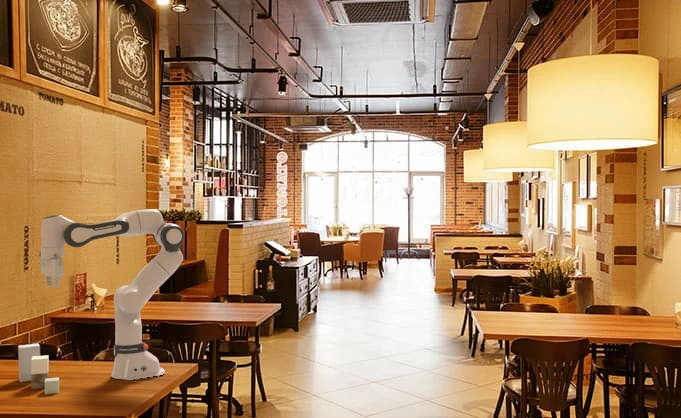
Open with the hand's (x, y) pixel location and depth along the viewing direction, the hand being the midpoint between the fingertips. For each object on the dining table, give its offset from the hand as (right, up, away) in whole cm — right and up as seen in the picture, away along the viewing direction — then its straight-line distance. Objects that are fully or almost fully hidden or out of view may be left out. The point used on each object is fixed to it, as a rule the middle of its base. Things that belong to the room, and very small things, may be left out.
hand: (52, 286), depth 269 cm
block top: (-3, -35, -4) cm, 35 cm away
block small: (+5, -41, -11) cm, 43 cm away
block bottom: (-3, -41, -4) cm, 41 cm away
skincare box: (-13, -41, +6) cm, 43 cm away
